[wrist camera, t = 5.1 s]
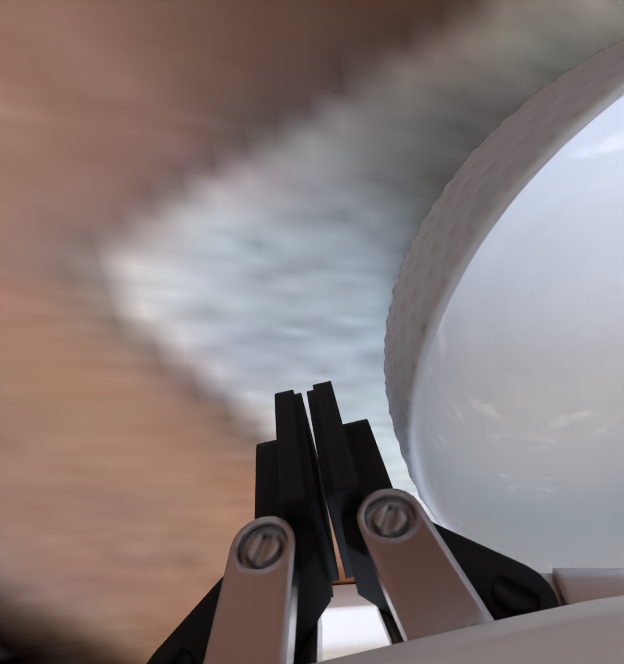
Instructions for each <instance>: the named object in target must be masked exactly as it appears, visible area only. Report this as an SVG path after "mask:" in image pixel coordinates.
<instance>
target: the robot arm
mask: <svg viewBox="0 0 624 664" xmlns="http://www.w3.org/2000/svg"><path fill="white" fill-rule="evenodd" d="M313 389H314V390H311V391H307V397H308V402H309V408H310V414H311V420H312V426H313V432H314V438H315V443H316V449H317V453H316V449H315V445H314V441H313V437H312V433H311V429H310V425H309V422H308V418H307V414H306V410H305V406H304V402H303V398H302V394H301V393H298V394H294V391H293V390H289V391H285V392H280V393H276V394H275V417H276V438H277V440H273V441H269V442H264V443H260V444H257V447H256V485H255V520H253V521H251V522H249V523H248V524H247V525H245V526H244V527H243V528H242V529H241V530H240V531H239V532H238V534H237V535H236V536H235V538H234V540H233V542H232V545H231V547H230V552H229V556H228V560H227V564H226V569H225V573H224V576H223V577H222V578H221V579H220V580H219V581H218V583H217V584H216V585H215V586H214V587H213V588H212V589H211V590H210V591H209V593H208V594H207V595H206V596H205V597H204V598H203V599H202V600H201V601H200V603H199V604H198V605H197V606H196V607H195V608H194V609H193V610H192V612H191V613H190V614H189V615H188V616H187V617H186V618H185V619H184V620H183V622H182V623H181V624H180V625H179V626H178V627H177V628H176V629H175V630H174V632H173V633H172V634H171V635H170V636H169V637H168V638H167V639H166V641H165V642H164V643H163V644H162V645H161V646H160V647H159V648H158V649H157V651H156V652H155V653H154V654H153V656H152V657H151V658H150V660H149V661H148V662H147V664H624V568H552V573H538V572H537V571H535V570H533V569H532V568H530V567H528V566H527V565H525V564H522V563H520V562H518V561H516V560H514V559H512V558H509V557H507V556H505V555H503V554H501V553H498V552H496V551H494V550H492V549H490V548H488V547H485V546H483V545H481V544H479V543H477V542H474V541H472V540H470V539H468V538H466V537H463V536H461V535H459V534H457V533H455V532H453V531H450V530H448V529H446V528H444V527H442V526H439V525H437V524H435V523H433V522H432V521H431V520H430V518H429V517H428V515H427V514H426V512H425V510H424V509H423V507H422V506H421V504H420V503H419V502H418V501H417V499H416V498H415V497H414V496H412V495H411V494H409V493H407V492H406V491H402V490H399V489H393V487H392V484H391V482H390V479H389V476H388V474H387V471H386V468H385V465H384V463H383V460H382V457H381V455H380V452H379V449H378V446H377V444H376V441H375V438H374V436H373V433H372V430H371V427H370V425H369V422H368V420H367V419H364V420H360V421H355V422H351V423H347V424H342V420H341V417H340V413H339V409H338V406H337V402H336V399H335V395H334V391H333V388H332V384H331V381H328V382H324V383H319V384H315V385H313ZM317 455H318V457H317ZM326 502H327V504H326ZM327 506H328V510H329V514H330V518H331V522H332V526H333V530H334V533H335V537H336V541H337V545H338V549H339V553H340V557H341V560H342V564H343V568H344V572H345V576H346V579H347V578H351V577H354V579H355V584H356V588H357V592H358V595H360V596H362V597H363V598H365V599H366V600H368V601H369V602H371V603H372V604H374V605H375V606H376V608H377V612H378V615H379V618H380V620H381V623H382V625H383V628H384V630H385V633H386V635H387V638H388V641H389V643H390V645H388V646H384V647H380V648H376V649H372V650H367V651H363V652H359V653H355V654H350V655H346V656H342V657H338V658H333V659H329V660H325V661H322V619H321V615H322V614H323V612H324V611H325V609H326V608H327V606H328V605H329V603H330V602H331V598H332V597H334V595H333V588H332V582H334V581H339V574H338V568H337V562H336V556H335V550H334V545H333V539H332V533H331V527H330V521H329V516H328V510H327Z"/></svg>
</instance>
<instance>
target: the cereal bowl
mask: <svg viewBox="0 0 624 664" xmlns="http://www.w3.org/2000/svg"><path fill="white" fill-rule="evenodd" d="M384 340H385V349H384V353H385V361H384V373H385V377H386V380H385V385H386V395H387V398H388V402H389V413H390V416H391V418H392V420H393V426H394V432H395V435H396V438H397V440H398V442H399V444H400V450H401V455H402V457H403V459H404V460H405V462H406V464H407V468H408V472H409V475H410V477H411V479H412V481H413V482H414V484H415V485H416V487H417V490H418V493H419V497H420V498H421V499H422V501H423V502H424V503H425V505H426V506H427V508H428V509H429V511H430V512H431V514H432V515H433V516H434V518H435V519H436V521H437V522H438V524H439V525H440V526H442V527H444V528H446V529H448V530H450V531H453V532H455V533H457V534H459V535H461V536H463V537H466V538H468V539H470V540H472V541H474V542H477V543H479V544H481V545H483V546H485V547H488V548H490V549H492V550H494V551H496V552H498V553H501V554H503V555H505V556H507V557H509V558H512V559H514V560H516V561H518V562H520V563H522V564H525V565H527V566H528V567H530V568H532V569H533V570H535V571H537V572H538V573H552V568H624V40H623V41H621V42H618V43H616V44H613V45H611V46H609V47H608V48H606V49H604V50H601V51H599V52H597V53H596V54H595V55H593V56H592V57H591V58H589V59H588V60H587V61H585V62H584V63H582V64H580V65H578V66H576V67H575V68H572V69H570V70H568V71H566V72H564V73H563V74H562V75H561V76H560V77H559V78H558V79H556V80H554V81H553V82H552V83H551V84H550V85H548V86H546V87H545V88H543V89H541V90H540V91H538V92H537V93H536V94H535V95H534V96H533V97H531V98H530V99H528V100H527V101H526V102H525V103H524V104H523V105H522V106H521V107H520V108H519V109H518V110H517V111H516V112H514V113H513V114H511V115H510V116H508V117H507V118H505V119H504V120H503V121H502V122H501V124H500V125H499V126H498V128H497V129H495V130H494V131H493V132H491V133H490V134H489V136H488V137H487V138H486V139H485V140H484V141H483V142H482V144H481V145H480V146H479V147H477V148H476V149H474V150H473V151H472V152H471V153H470V155H469V157H468V159H467V160H466V162H465V163H464V164H463V165H461V166H460V167H459V169H458V170H457V172H456V174H455V175H454V177H453V178H452V179H451V180H450V181H449V182H448V183H447V184H446V186H445V188H444V190H443V192H442V194H441V196H440V197H439V198H438V199H437V200H436V201H435V202H434V203H433V205H432V208H431V211H430V212H429V214H428V215H427V216H426V217H425V218H424V220H423V221H422V223H421V226H420V229H419V231H418V233H417V234H416V236H415V239H414V242H413V243H412V245H411V247H410V248H409V250H408V251H407V252H406V254H405V262H404V264H403V265H402V267H401V269H400V275H399V279H398V282H397V283H396V285H395V286H394V288H393V290H392V303H391V306H390V308H389V316H388V318H387V320H386V336H385V339H384Z"/></svg>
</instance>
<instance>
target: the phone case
mask: <svg viewBox="0 0 624 664" xmlns="http://www.w3.org/2000/svg"><path fill="white" fill-rule="evenodd" d="M332 588H333V595H334V597H332V598H331V602H330V603H329V605H328V606H327V608H326V609H325V611H324V612H323V614H322V615H321V619H322V661H325V660H329V659H333V658H338V657H342V656H346V655H350V654H355V653H359V652H363V651H367V650H372V649H376V648H380V647H384V646H388V645H390V643H389V641H388V638H387V635H386V633H385V630H384V628H383V625H382V623H381V620H380V618H379V615H378V612H377V608H376V606H375V605H374V604H372V603H371V602H369V601H368V600H366V599H365V598H363V597H362V596H360V595H358V592H357V588H356V584H349V585H334V586H332Z"/></svg>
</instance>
